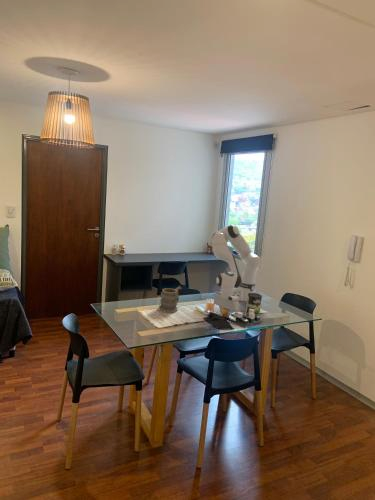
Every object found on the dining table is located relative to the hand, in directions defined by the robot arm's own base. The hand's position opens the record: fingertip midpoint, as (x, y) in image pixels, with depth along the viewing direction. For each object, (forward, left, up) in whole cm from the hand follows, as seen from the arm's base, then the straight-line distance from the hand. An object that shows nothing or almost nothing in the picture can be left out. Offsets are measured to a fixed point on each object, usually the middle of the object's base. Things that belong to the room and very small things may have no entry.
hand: (224, 313), depth 255 cm
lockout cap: (0, 0, -2) cm, 2 cm away
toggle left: (+13, 0, +2) cm, 13 cm away
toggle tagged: (+18, +6, +2) cm, 19 cm away
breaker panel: (+12, +6, -2) cm, 13 cm away
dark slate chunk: (+6, -13, -3) cm, 15 cm away
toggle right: (+13, +13, +2) cm, 18 cm away
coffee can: (+6, +25, -2) cm, 26 cm away
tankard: (-30, -23, -2) cm, 38 cm away
